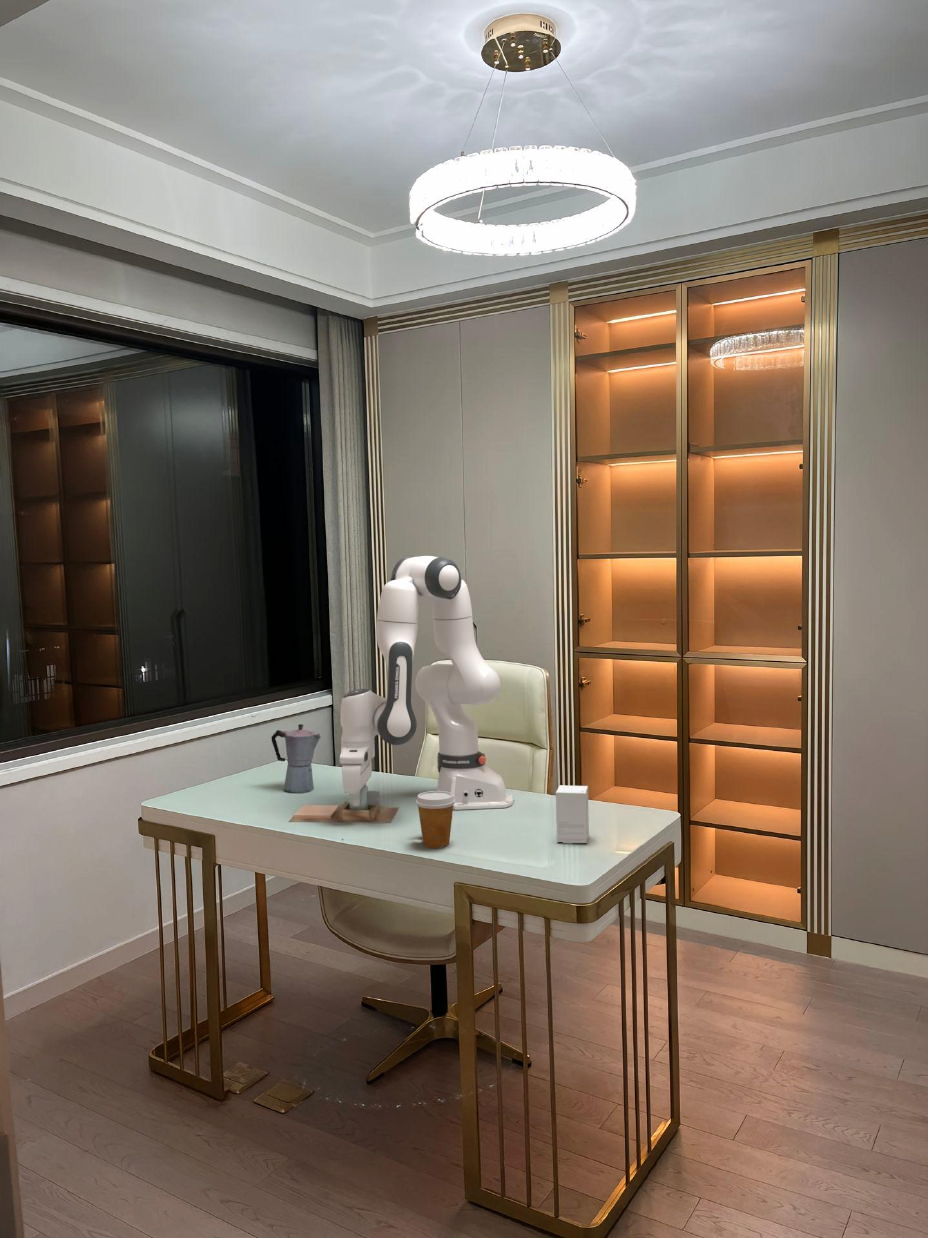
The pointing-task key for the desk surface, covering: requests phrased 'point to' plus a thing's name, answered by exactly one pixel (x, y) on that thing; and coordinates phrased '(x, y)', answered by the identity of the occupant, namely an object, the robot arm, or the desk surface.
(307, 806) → the terracotta coaster
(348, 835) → the desk surface
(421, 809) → the disposable coffee cup
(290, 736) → the moka pot
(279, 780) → the desk surface
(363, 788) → the pale blue rounded piece
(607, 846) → the desk surface
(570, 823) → the supplement box
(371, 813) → the walnut board
